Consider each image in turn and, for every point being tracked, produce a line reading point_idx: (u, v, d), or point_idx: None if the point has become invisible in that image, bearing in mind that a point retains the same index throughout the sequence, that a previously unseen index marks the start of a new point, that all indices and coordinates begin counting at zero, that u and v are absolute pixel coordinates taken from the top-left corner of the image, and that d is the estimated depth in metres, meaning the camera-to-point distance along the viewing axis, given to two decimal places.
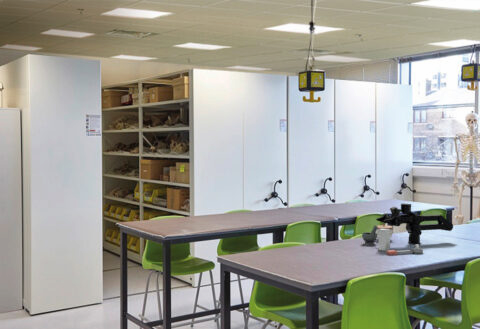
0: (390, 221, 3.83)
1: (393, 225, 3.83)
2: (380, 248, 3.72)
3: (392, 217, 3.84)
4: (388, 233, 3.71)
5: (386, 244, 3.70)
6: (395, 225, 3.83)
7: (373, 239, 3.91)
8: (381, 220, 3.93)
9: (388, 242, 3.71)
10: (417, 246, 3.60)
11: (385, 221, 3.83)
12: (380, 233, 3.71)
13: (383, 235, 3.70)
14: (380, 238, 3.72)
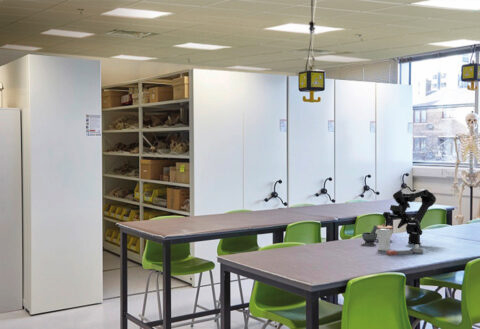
0: (402, 222, 3.75)
1: (406, 223, 3.76)
2: (380, 248, 3.72)
3: (401, 218, 3.75)
4: (388, 233, 3.71)
5: (386, 244, 3.70)
6: None
7: (373, 239, 3.91)
8: (388, 222, 3.83)
9: (388, 242, 3.71)
10: (417, 246, 3.60)
11: (399, 226, 3.74)
12: (380, 233, 3.71)
13: (383, 235, 3.70)
14: (380, 238, 3.72)
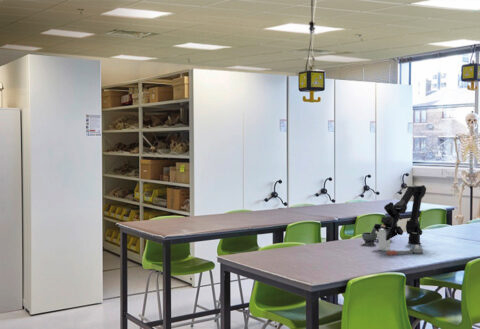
0: (391, 234, 3.71)
1: (395, 235, 3.72)
2: (380, 248, 3.72)
3: (390, 230, 3.70)
4: (388, 233, 3.71)
5: (386, 244, 3.70)
6: (399, 234, 3.71)
7: (373, 239, 3.91)
8: None
9: (388, 242, 3.71)
10: (417, 246, 3.60)
11: (388, 238, 3.70)
12: (380, 233, 3.71)
13: (383, 235, 3.70)
14: (380, 238, 3.71)
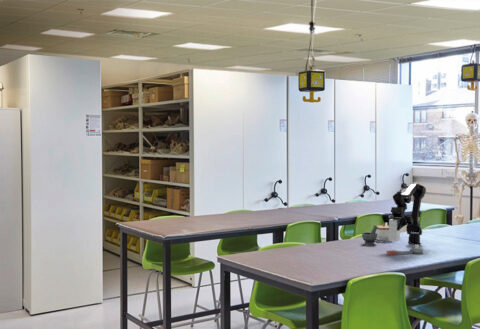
0: (401, 224, 3.66)
1: None
2: (390, 239, 3.66)
3: (401, 220, 3.66)
4: None
5: (397, 234, 3.65)
6: (409, 224, 3.67)
7: (373, 239, 3.91)
8: None
9: (398, 232, 3.66)
10: (417, 246, 3.60)
11: (399, 228, 3.65)
12: (391, 223, 3.66)
13: (394, 226, 3.64)
14: (391, 228, 3.66)
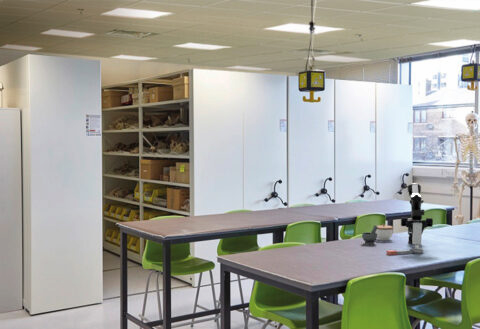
0: (423, 227, 3.62)
1: None
2: (414, 242, 3.59)
3: (423, 222, 3.61)
4: None
5: None
6: (428, 226, 3.65)
7: (373, 239, 3.91)
8: None
9: None
10: (417, 246, 3.60)
11: (422, 231, 3.60)
12: (415, 227, 3.59)
13: (419, 229, 3.58)
14: (415, 232, 3.59)
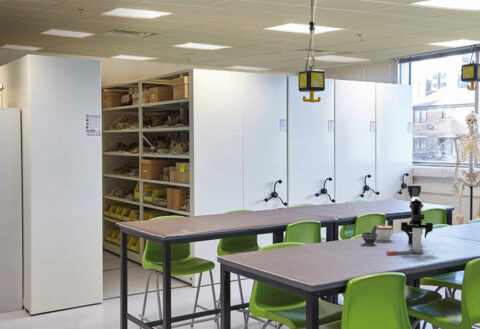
0: (426, 232, 3.62)
1: None
2: (415, 247, 3.59)
3: (426, 227, 3.61)
4: None
5: None
6: None
7: (373, 239, 3.91)
8: (408, 233, 3.64)
9: None
10: None
11: None
12: (415, 232, 3.59)
13: (418, 234, 3.58)
14: (415, 237, 3.59)
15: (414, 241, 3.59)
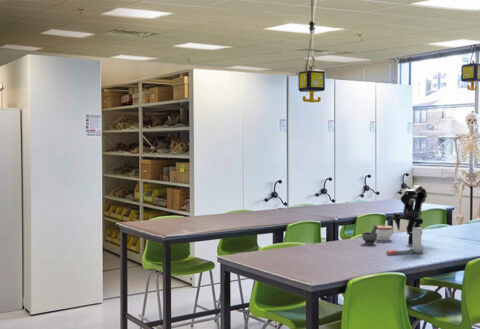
0: None
1: None
2: (415, 247, 3.59)
3: (416, 223, 3.76)
4: None
5: None
6: None
7: (373, 239, 3.91)
8: None
9: None
10: None
11: None
12: (415, 232, 3.59)
13: (418, 234, 3.58)
14: (415, 237, 3.59)
15: (414, 241, 3.59)
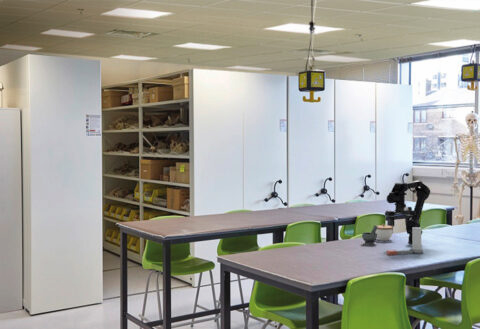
0: None
1: None
2: (415, 247, 3.59)
3: (409, 216, 3.84)
4: None
5: None
6: None
7: (373, 239, 3.91)
8: None
9: None
10: None
11: None
12: (415, 232, 3.59)
13: (418, 234, 3.58)
14: (415, 237, 3.59)
15: (414, 241, 3.59)
